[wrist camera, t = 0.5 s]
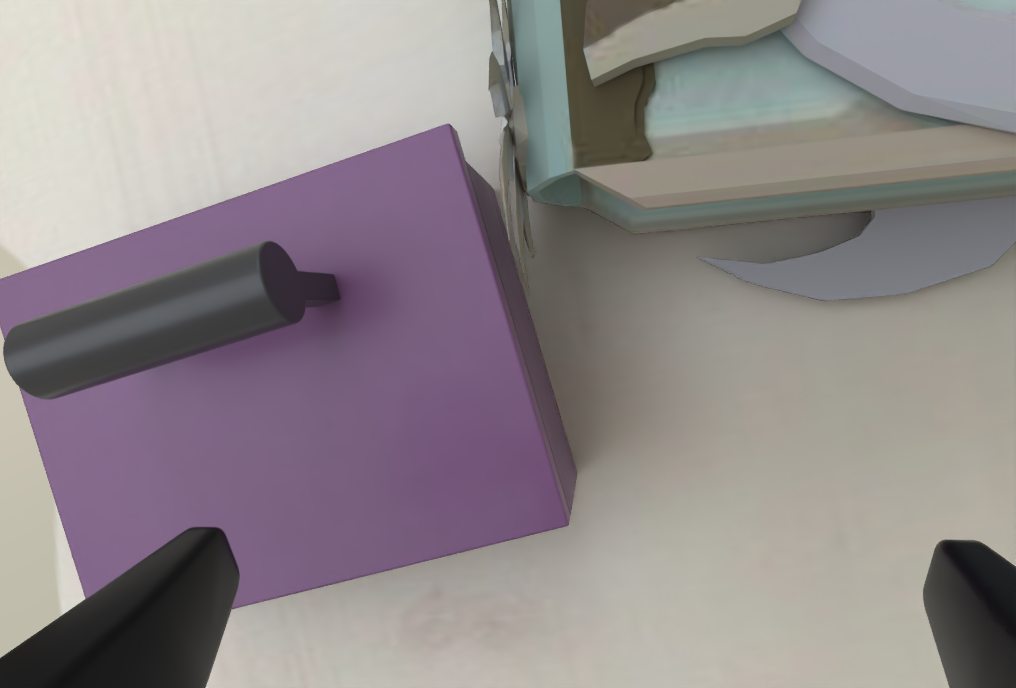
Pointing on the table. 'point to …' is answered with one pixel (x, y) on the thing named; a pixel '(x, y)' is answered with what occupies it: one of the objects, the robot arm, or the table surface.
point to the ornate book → (769, 126)
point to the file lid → (289, 380)
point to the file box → (526, 334)
